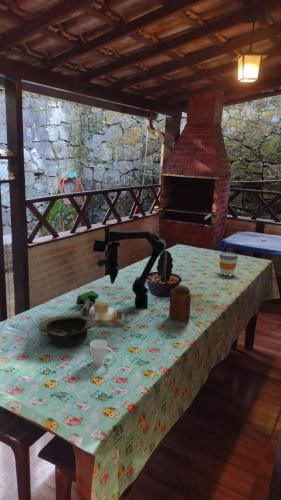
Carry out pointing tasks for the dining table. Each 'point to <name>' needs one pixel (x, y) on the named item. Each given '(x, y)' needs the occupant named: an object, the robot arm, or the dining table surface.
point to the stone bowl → (67, 329)
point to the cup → (99, 351)
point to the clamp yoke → (86, 308)
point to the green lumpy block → (87, 297)
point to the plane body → (107, 318)
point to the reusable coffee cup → (227, 262)
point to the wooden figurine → (180, 303)
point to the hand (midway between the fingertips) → (112, 281)
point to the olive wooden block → (101, 306)
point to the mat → (92, 311)
